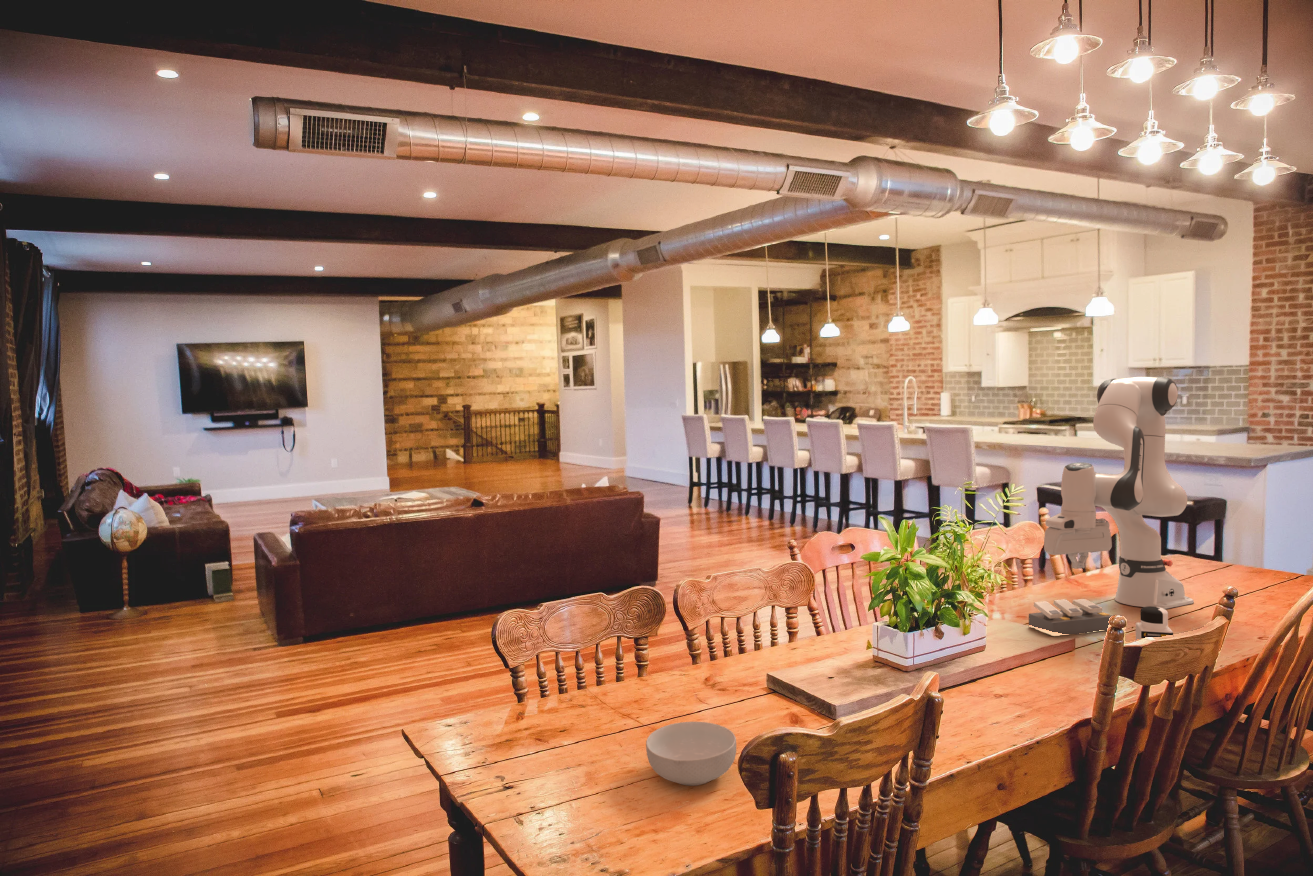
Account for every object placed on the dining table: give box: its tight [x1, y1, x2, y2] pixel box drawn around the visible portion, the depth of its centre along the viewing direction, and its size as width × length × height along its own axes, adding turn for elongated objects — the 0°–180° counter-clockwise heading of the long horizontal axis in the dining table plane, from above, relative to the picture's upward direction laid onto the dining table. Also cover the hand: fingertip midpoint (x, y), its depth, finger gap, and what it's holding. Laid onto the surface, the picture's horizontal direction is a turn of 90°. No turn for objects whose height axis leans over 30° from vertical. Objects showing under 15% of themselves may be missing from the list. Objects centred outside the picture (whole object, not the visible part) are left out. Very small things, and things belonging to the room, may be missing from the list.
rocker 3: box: [1071, 598, 1103, 613], centre depth 234 cm, size 4×7×1 cm, turn 13°
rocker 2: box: [1052, 598, 1083, 616], centre depth 232 cm, size 4×7×1 cm, turn 13°
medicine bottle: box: [1135, 606, 1174, 641], centre depth 209 cm, size 7×7×12 cm
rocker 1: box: [1033, 600, 1063, 619], centre depth 231 cm, size 4×7×1 cm, turn 13°
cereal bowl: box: [645, 721, 737, 787], centre depth 151 cm, size 17×17×7 cm
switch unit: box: [1028, 607, 1113, 635], centre depth 233 cm, size 20×10×5 cm, turn 103°
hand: (1078, 568), depth 232 cm, fingers closed
